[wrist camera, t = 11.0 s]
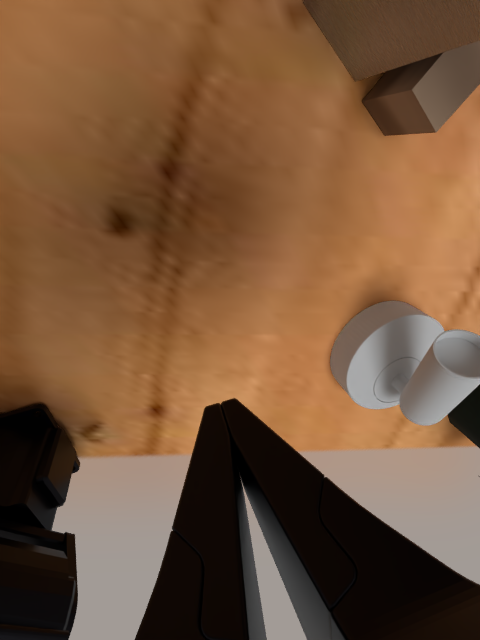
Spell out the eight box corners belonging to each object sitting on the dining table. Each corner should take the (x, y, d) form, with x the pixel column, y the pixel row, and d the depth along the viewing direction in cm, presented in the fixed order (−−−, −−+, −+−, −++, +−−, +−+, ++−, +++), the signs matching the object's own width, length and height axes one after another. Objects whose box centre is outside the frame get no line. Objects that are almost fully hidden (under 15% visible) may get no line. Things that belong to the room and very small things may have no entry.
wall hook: (562, 327, 17) (528, 450, 22) (423, 268, 25) (422, 367, 30) (411, 390, 16) (412, 503, 21) (320, 308, 24) (336, 403, 29)
